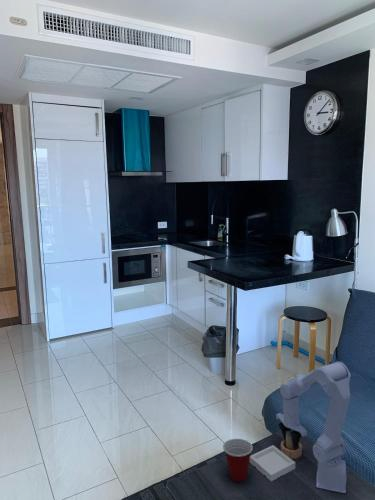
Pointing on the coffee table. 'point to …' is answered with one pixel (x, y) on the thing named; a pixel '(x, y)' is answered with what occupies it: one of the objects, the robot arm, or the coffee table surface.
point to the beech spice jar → (289, 439)
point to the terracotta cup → (291, 453)
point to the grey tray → (272, 462)
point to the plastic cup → (238, 458)
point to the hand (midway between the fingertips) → (291, 443)
